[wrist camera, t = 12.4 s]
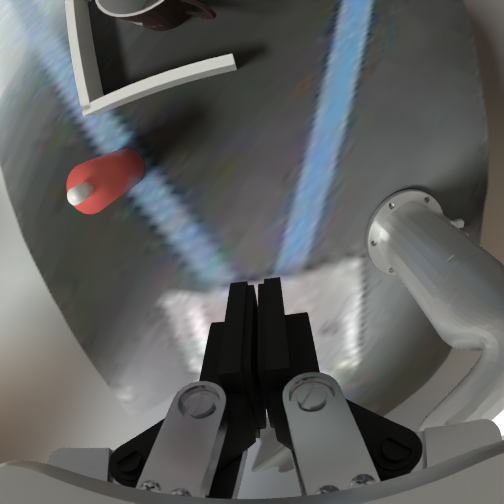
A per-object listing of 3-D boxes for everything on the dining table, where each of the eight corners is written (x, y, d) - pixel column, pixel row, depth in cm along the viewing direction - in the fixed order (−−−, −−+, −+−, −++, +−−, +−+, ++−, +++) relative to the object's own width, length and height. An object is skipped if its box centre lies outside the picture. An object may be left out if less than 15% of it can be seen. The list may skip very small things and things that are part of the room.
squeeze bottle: (138, 142, 32) (86, 160, 21) (149, 181, 34) (104, 215, 23) (104, 155, 32) (46, 179, 21) (116, 191, 34) (64, 228, 23)
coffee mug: (121, 8, 23) (82, -16, 14) (180, -30, 21) (158, -67, 12) (164, 70, 28) (131, 57, 19) (229, 31, 26) (220, 1, 17)
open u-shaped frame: (206, -49, 20) (201, -64, 16) (236, 69, 28) (234, 64, 24) (79, 0, 22) (64, -7, 18) (99, 114, 30) (83, 116, 26)
